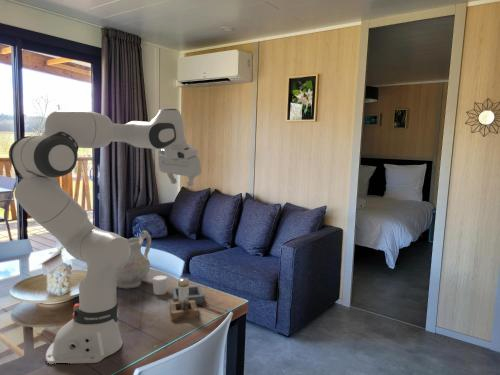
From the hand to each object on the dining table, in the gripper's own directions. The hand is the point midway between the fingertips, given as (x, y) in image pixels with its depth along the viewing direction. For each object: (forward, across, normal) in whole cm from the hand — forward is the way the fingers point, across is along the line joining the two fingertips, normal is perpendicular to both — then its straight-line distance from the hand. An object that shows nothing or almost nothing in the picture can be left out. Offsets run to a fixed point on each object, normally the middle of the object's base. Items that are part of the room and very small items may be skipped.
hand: (182, 184), depth 146 cm
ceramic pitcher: (+51, -36, -11) cm, 64 cm away
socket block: (+48, +7, -17) cm, 51 cm away
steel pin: (+48, +7, -17) cm, 51 cm away
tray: (+51, -2, -7) cm, 51 cm away
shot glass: (+51, -17, -9) cm, 55 cm away
